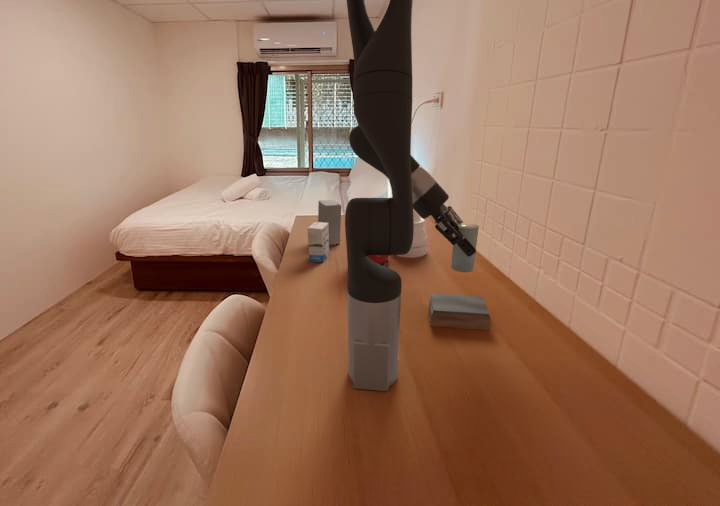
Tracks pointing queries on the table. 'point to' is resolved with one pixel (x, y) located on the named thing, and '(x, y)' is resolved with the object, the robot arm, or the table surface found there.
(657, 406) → the table surface
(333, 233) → the skincare box
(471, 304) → the dark grey slab
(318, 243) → the ink box
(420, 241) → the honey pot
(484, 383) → the table surface
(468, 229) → the ceramic tumbler
